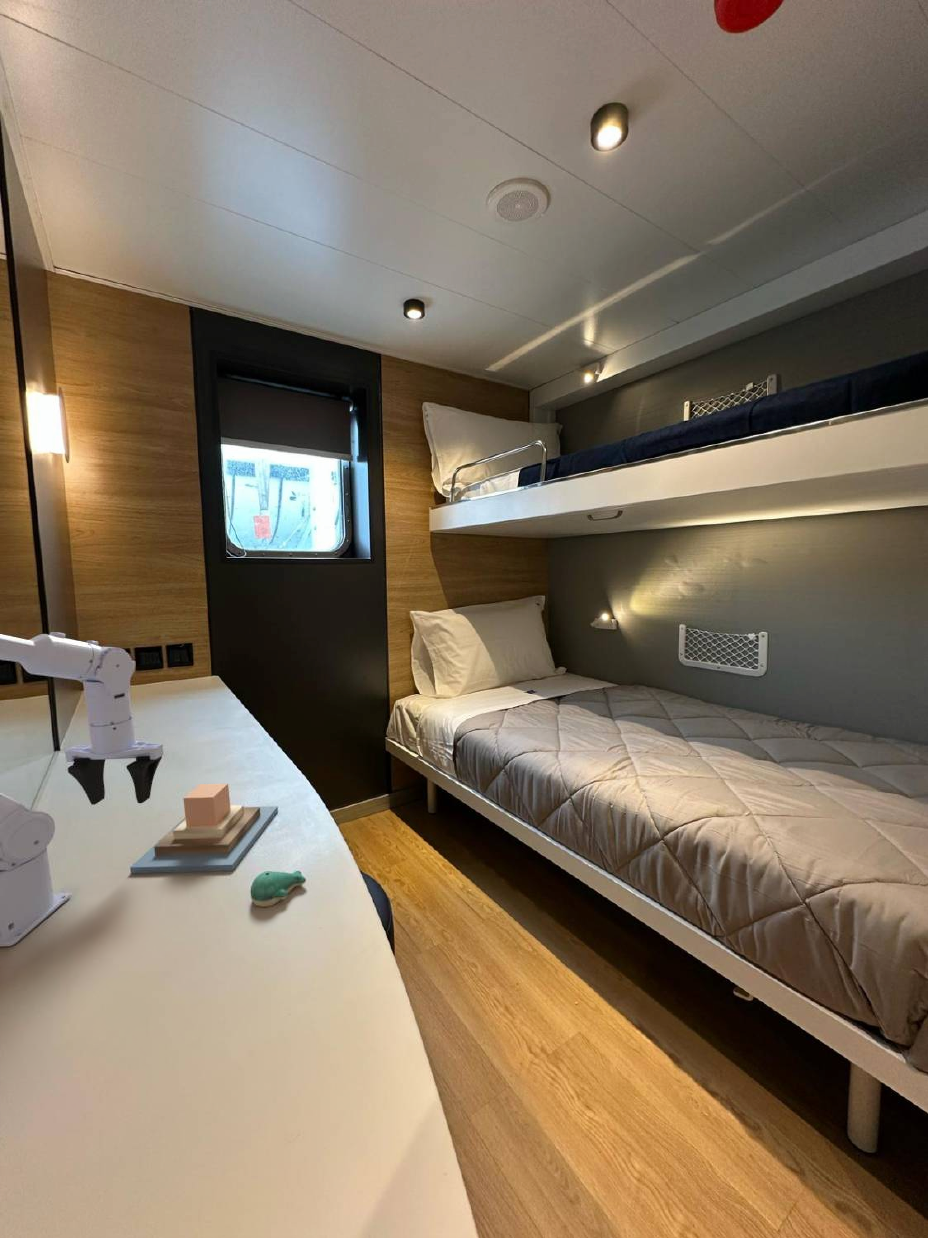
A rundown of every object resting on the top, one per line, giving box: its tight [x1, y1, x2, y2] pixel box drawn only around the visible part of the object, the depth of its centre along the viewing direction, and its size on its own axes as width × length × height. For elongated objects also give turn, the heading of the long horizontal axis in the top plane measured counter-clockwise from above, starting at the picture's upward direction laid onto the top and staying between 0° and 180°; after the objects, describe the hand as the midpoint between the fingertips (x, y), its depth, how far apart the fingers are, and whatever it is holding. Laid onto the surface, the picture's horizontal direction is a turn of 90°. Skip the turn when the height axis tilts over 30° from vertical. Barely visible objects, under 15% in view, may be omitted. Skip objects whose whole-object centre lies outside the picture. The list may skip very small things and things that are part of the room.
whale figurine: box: [249, 870, 307, 908], centre depth 70 cm, size 6×7×4 cm
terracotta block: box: [182, 783, 231, 826], centre depth 84 cm, size 5×5×5 cm
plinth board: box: [130, 804, 279, 874], centre depth 84 cm, size 18×16×4 cm
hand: (121, 801), depth 80 cm, fingers open, 7 cm apart
